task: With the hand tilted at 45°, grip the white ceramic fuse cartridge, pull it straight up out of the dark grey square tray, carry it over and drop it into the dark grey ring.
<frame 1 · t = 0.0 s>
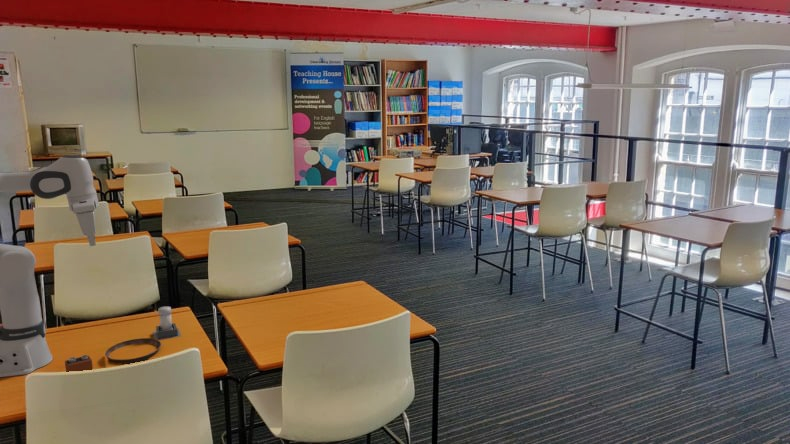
hand: (92, 242, 201), 39 cm above the table, tool pointing down, fingers open, 8 cm apart
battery: (81, 388, 181), on the table
fuse cartridge: (167, 334, 220), point 1 cm above the table, touching dark grey square tray
dark grey ring: (134, 356, 204), on the table
dark grey square tray: (167, 337, 220), on the table
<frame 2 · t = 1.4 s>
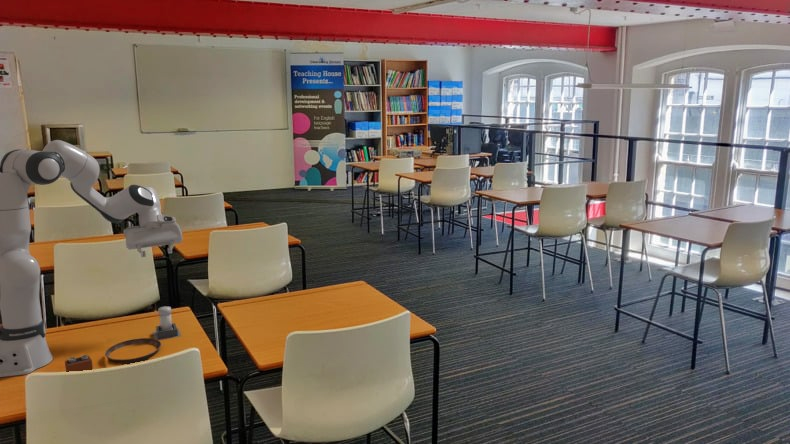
hand: (157, 254, 225), 29 cm above the table, tool tilted 45°, fingers open, 8 cm apart
nothing on the table moved.
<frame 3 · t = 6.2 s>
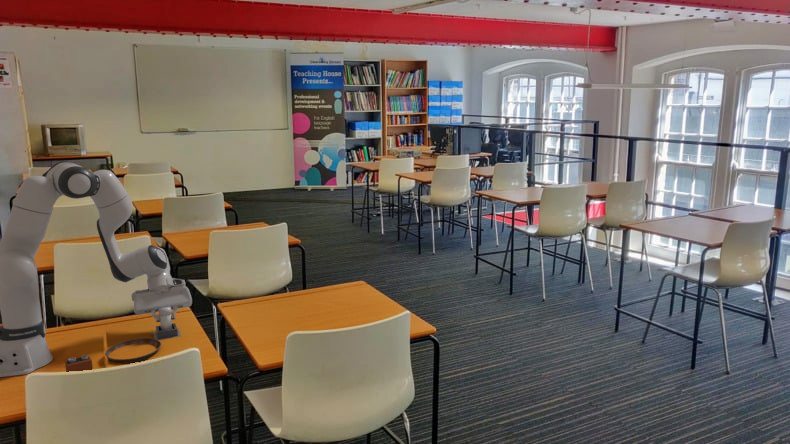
hand: (165, 320, 218), 7 cm above the table, tool tilted 45°, fingers closed on fuse cartridge, 4 cm apart
fuse cartridge: (166, 334, 220), point 1 cm above the table, touching dark grey square tray, gripper
everything else where it was.
when the fingers open (9 cm above the table, at t = 12.4 s): fuse cartridge moves 2 cm, point 3 cm above the table.
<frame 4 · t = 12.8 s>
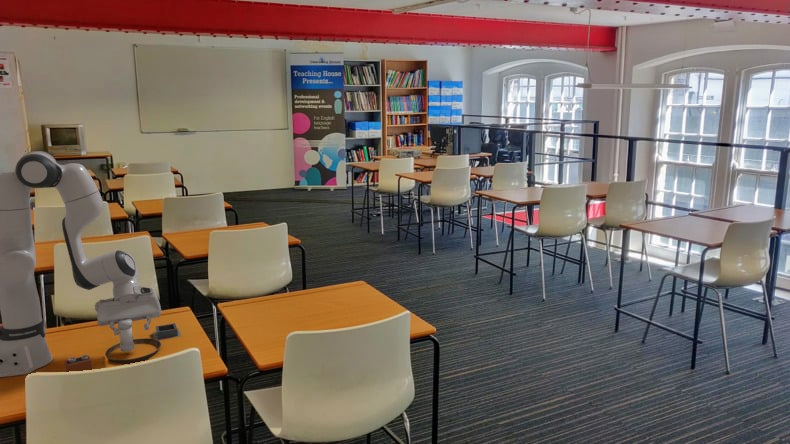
hand: (131, 331, 202), 9 cm above the table, tool tilted 45°, fingers open, 8 cm apart
fuse cartridge: (127, 348, 203), point 3 cm above the table, touching gripper
everything else where it was.
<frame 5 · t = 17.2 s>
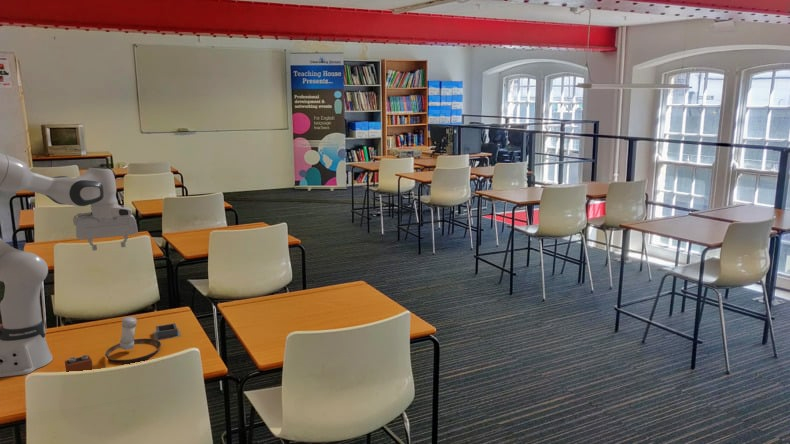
hand: (109, 248, 217), 33 cm above the table, tool pointing down, fingers open, 8 cm apart
fuse cartridge: (126, 346, 204), point 3 cm above the table, tilted 12°, touching dark grey ring
dark grey ring: (134, 357, 204), on the table, touching fuse cartridge
everything else where it was.
at the end: fuse cartridge 2.6 cm from the dark grey ring (horizontally); fuse cartridge point 3.1 cm above the table; the gripper is holding nothing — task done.
